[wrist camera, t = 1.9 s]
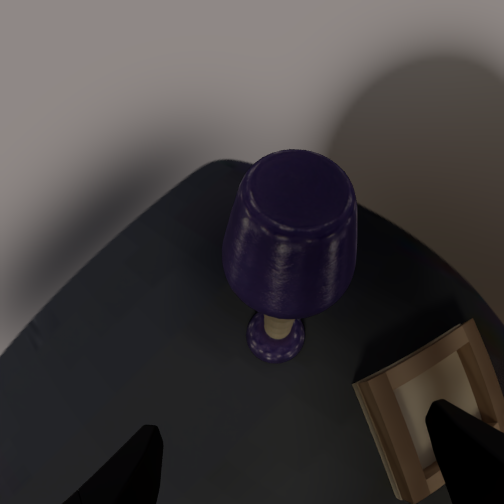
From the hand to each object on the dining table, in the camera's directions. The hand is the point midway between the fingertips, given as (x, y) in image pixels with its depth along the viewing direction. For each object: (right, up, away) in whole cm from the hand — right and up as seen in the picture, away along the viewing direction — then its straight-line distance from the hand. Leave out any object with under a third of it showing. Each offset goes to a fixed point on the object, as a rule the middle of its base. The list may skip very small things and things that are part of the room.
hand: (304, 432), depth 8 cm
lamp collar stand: (+12, -7, +11) cm, 18 cm away
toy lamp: (0, -1, +14) cm, 14 cm away
